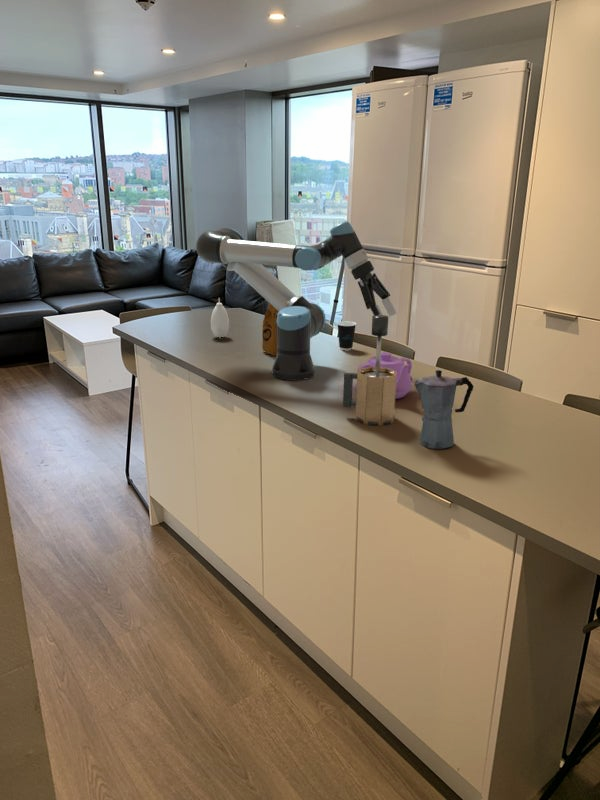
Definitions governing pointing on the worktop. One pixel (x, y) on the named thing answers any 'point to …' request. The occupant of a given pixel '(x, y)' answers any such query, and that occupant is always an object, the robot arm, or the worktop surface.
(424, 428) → the moka pot
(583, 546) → the worktop surface
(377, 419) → the wooden slat mug
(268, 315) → the coffee package
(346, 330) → the dixie cup
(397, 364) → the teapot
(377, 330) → the plunger
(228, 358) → the worktop surface
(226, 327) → the sauce bottle
